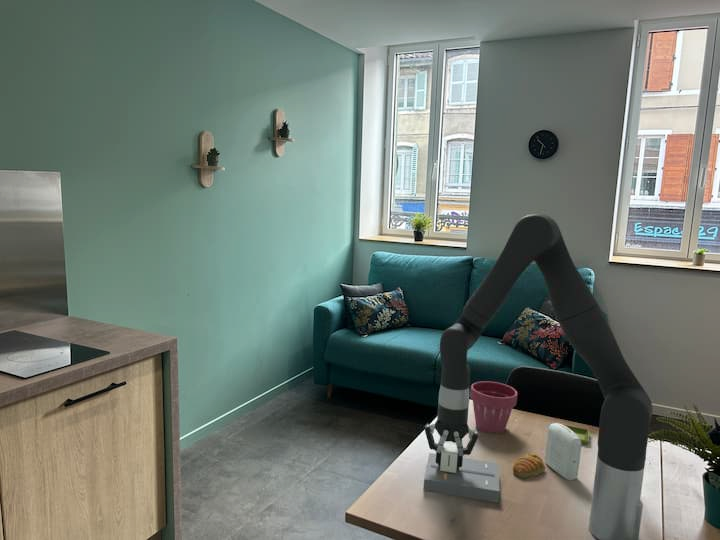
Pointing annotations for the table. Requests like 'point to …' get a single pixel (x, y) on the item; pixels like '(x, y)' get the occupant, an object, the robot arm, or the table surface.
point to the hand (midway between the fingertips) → (448, 466)
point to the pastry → (528, 466)
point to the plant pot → (492, 405)
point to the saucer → (580, 433)
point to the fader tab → (449, 458)
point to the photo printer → (563, 451)
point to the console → (464, 479)
